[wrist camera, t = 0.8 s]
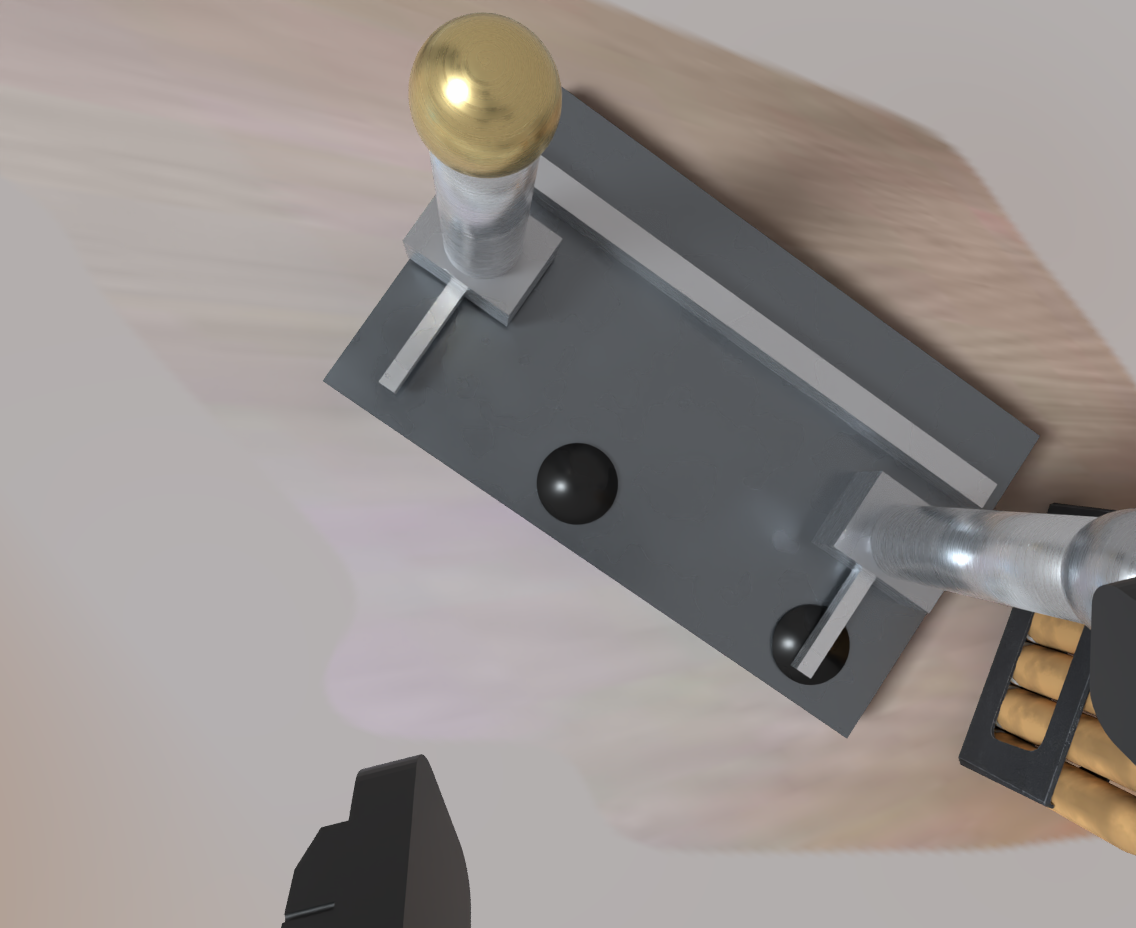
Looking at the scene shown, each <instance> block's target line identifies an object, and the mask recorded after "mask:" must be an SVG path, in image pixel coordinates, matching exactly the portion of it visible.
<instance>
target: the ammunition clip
mask: <svg viewBox="0 0 1136 928" xmlns="http://www.w3.org/2000/svg"><path fill="white" fill-rule="evenodd" d="M1114 511H1117V510H1108V509H1100V508H1092V507H1083V506H1075V505H1066V504H1058V503H1053V504H1050V506H1049V509H1048V512H1047V514H1058V515H1074V516H1089V517H1100V516H1102V515H1105V514H1107V513H1110V512H1114ZM1090 650H1091V630H1090V629H1089V628H1088V627H1087V626H1086V625H1085V624H1081V623H1077V622H1073V621H1069V620H1064V619H1060V618H1056V617H1052V616H1048V615H1044V614H1040V613H1036V612H1031V611H1027V610H1023V609H1019V608H1015V607H1013V608H1012V611H1011V614H1010V617H1009V619H1008V622H1007V625H1006V628H1005V630H1004V633H1003V636H1002V639H1001V641H1000V644H999V647H998V650H997V653H996V655H995V658H994V661H993V664H992V666H991V669H990V672H989V675H988V677H987V680H986V683H985V686H984V688H983V691H982V694H981V697H980V699H979V702H978V705H977V708H976V710H975V713H974V716H973V719H972V721H971V724H970V727H969V730H968V732H967V735H966V738H965V741H964V743H963V746H962V749H961V752H960V754H959V761H960V764H961V765H963V766H965V767H967V768H969V769H971V770H973V771H975V772H977V773H979V774H981V775H983V776H985V777H987V778H989V779H991V780H993V781H995V782H997V783H999V784H1001V785H1003V786H1005V787H1007V788H1009V789H1011V790H1013V791H1015V792H1017V793H1020V794H1022V795H1024V796H1026V797H1028V798H1030V799H1032V800H1034V801H1036V802H1038V803H1040V804H1042V805H1044V806H1046V807H1047V808H1049V809H1051V810H1053V811H1055V812H1056V813H1058V814H1060V815H1062V816H1063V817H1065V818H1067V819H1069V820H1070V821H1072V822H1074V823H1076V824H1077V825H1079V826H1081V827H1083V828H1084V829H1086V830H1088V831H1090V832H1091V833H1093V834H1095V835H1097V836H1098V837H1100V838H1102V839H1104V840H1105V841H1107V842H1109V843H1111V844H1112V845H1114V846H1116V847H1118V848H1119V849H1121V850H1123V851H1125V852H1127V853H1130V854H1133V855H1136V796H1134V795H1132V794H1130V793H1128V792H1126V791H1124V790H1122V789H1120V788H1118V787H1116V786H1114V785H1112V784H1110V783H1109V781H1110V780H1111V781H1113V782H1116V783H1118V784H1120V785H1122V786H1124V787H1126V788H1128V789H1130V790H1133V791H1135V792H1136V766H1135V765H1134V764H1133V763H1132V762H1131V760H1130V759H1129V758H1128V757H1127V756H1126V755H1125V754H1124V753H1123V752H1122V751H1121V750H1120V749H1119V748H1118V747H1117V746H1116V745H1115V744H1114V743H1113V742H1112V741H1111V739H1110V738H1109V737H1108V736H1107V734H1106V733H1105V731H1104V729H1103V728H1102V726H1101V724H1100V722H1099V720H1098V719H1097V718H1095V717H1092V716H1090V715H1087V714H1085V713H1082V712H1083V711H1086V712H1089V713H1091V714H1094V715H1096V714H1095V711H1094V708H1093V705H1092V701H1091V697H1090ZM1067 653H1071V654H1074V656H1071V655H1068V654H1067ZM1051 699H1054V700H1057V702H1054V701H1052V700H1051ZM1035 745H1037V746H1039V747H1038V748H1037V747H1035ZM1065 759H1067V760H1069V761H1071V762H1073V763H1075V764H1077V765H1079V766H1082V767H1079V768H1078V767H1076V766H1074V765H1072V764H1070V763H1068V762H1065Z"/></svg>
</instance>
